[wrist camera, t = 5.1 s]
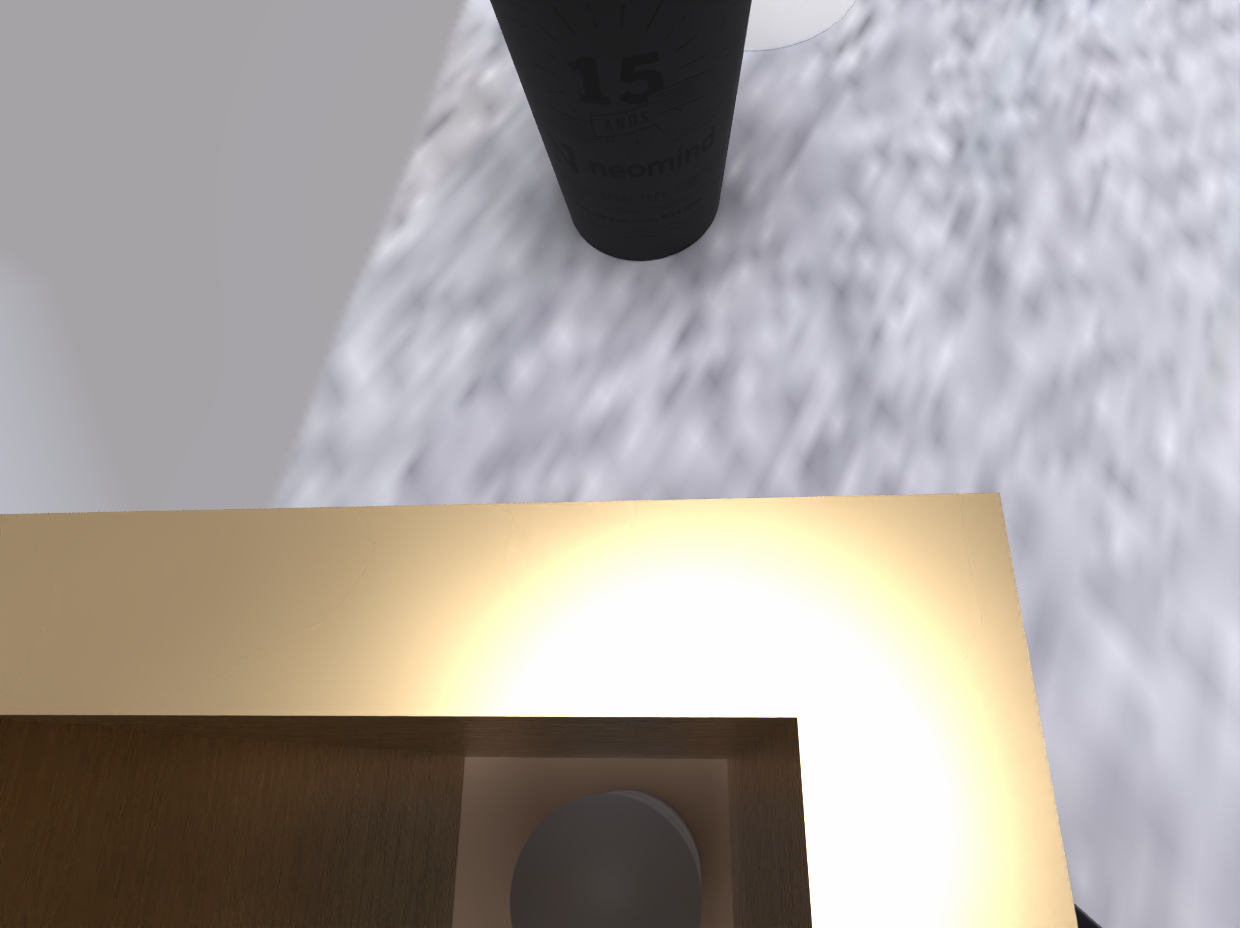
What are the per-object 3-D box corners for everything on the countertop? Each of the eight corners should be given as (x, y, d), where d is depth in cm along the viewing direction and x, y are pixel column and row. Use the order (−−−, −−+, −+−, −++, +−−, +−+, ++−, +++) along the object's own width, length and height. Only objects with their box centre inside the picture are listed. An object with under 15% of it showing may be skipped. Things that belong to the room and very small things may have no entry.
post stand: (935, 1206, 15) (1088, 1484, 9) (349, 1165, 16) (149, 1389, 10) (874, 600, 20) (952, 524, 14) (414, 600, 21) (300, 530, 15)
